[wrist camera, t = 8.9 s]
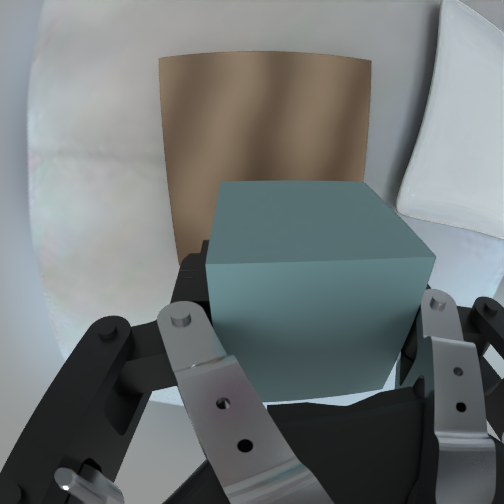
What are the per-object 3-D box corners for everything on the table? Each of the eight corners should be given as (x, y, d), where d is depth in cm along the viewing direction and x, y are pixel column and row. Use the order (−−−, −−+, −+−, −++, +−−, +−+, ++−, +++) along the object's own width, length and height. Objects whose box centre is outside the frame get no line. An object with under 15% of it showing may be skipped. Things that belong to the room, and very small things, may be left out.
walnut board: (364, 61, 20) (371, 60, 19) (347, 252, 30) (351, 260, 28) (163, 59, 20) (158, 58, 19) (181, 256, 29) (179, 265, 28)
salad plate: (507, 233, 30) (523, 247, 27) (379, 200, 27) (394, 216, 24) (548, 85, 19) (567, 90, 16) (422, -5, 17) (443, -11, 14)
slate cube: (363, 181, 11) (436, 256, 7) (345, 294, 14) (382, 388, 9) (220, 181, 11) (205, 264, 7) (227, 299, 14) (224, 403, 9)
